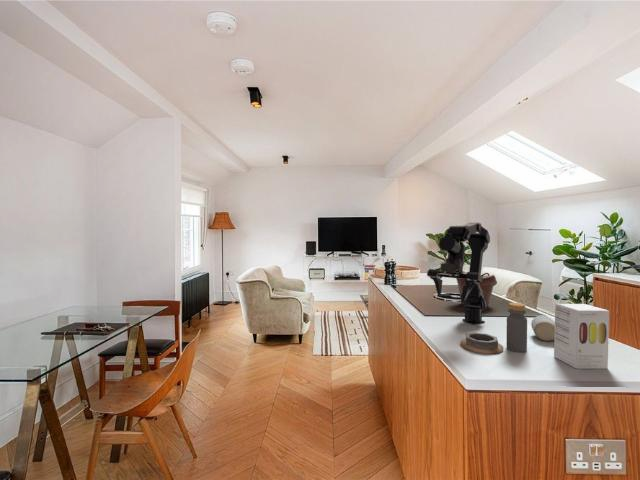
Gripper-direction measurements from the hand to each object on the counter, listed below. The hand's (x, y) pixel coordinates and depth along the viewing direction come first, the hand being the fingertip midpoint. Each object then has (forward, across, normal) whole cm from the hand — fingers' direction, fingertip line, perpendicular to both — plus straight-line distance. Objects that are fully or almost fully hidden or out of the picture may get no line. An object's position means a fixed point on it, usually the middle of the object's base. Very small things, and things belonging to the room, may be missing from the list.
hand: (451, 298), depth 122 cm
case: (-4, -9, +61) cm, 62 cm away
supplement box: (+14, +38, +5) cm, 40 cm away
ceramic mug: (+8, +28, +24) cm, 37 cm away
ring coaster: (+15, +12, 0) cm, 19 cm away
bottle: (+14, +21, +5) cm, 26 cm away
